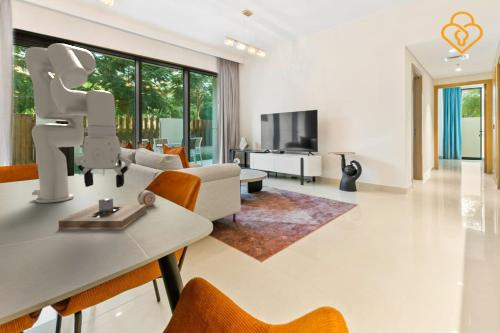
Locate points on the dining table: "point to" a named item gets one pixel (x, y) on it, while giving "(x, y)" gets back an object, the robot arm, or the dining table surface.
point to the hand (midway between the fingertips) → (104, 186)
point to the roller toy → (146, 198)
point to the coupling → (106, 207)
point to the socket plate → (103, 218)
